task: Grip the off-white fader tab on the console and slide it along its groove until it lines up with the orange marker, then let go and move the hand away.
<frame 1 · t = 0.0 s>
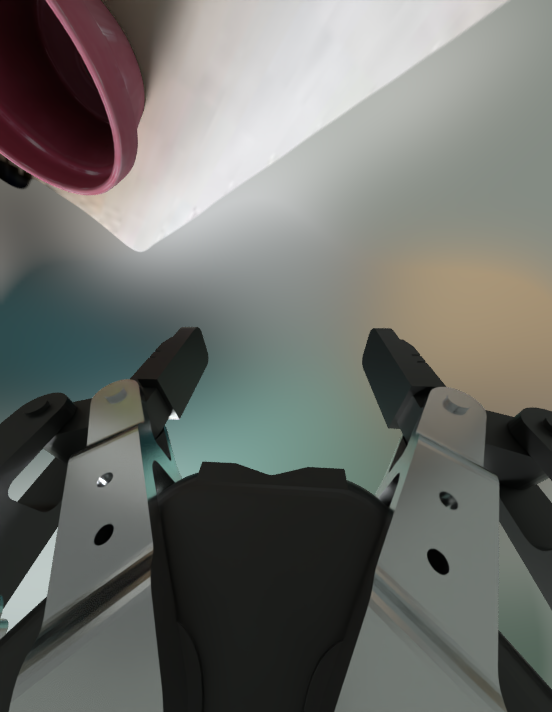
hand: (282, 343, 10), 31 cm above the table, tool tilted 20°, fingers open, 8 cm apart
plant pot: (97, 63, 22), on the table
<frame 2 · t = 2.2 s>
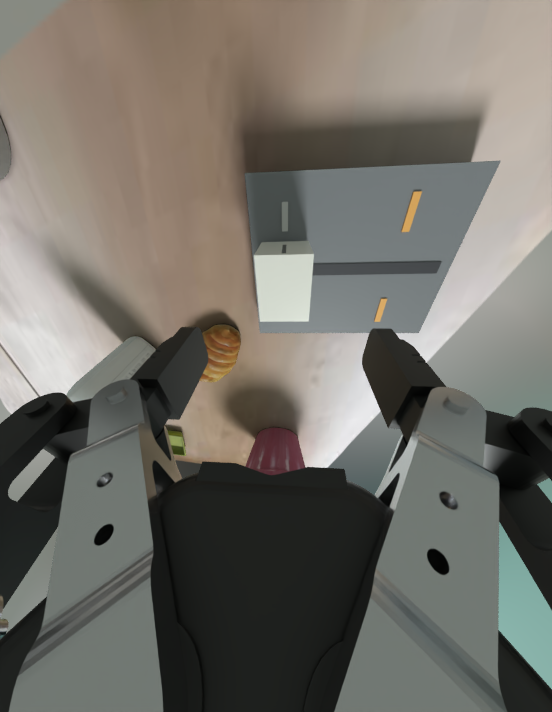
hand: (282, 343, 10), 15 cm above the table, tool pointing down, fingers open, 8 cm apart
plant pot: (276, 437, 44), on the table
pastry: (215, 347, 30), on the table
photo printer: (158, 359, 32), on the table
saucer: (169, 435, 47), on the table
console: (342, 261, 21), on the table
fader tab: (284, 280, 17), point 6 cm above the table, slide at 0.0 cm
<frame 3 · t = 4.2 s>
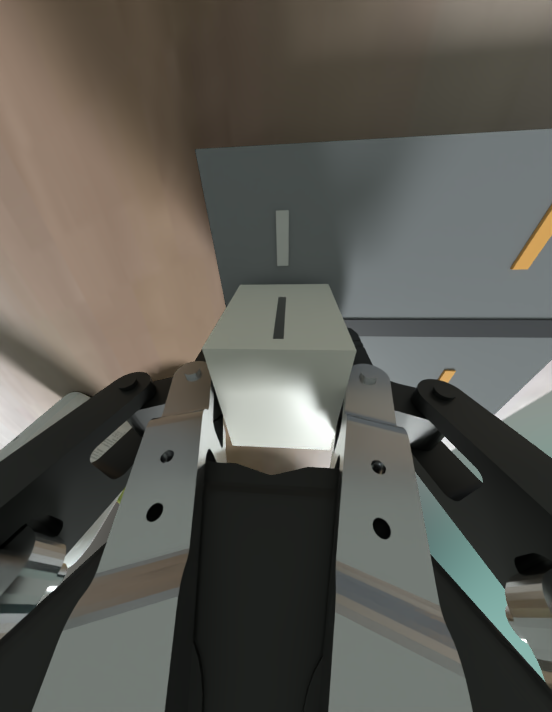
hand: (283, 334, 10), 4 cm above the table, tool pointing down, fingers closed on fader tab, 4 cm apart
photo printer: (114, 416, 24), on the table
console: (377, 304, 13), on the table
fader tab: (282, 362, 9), point 6 cm above the table, slide at 0.0 cm, touching gripper
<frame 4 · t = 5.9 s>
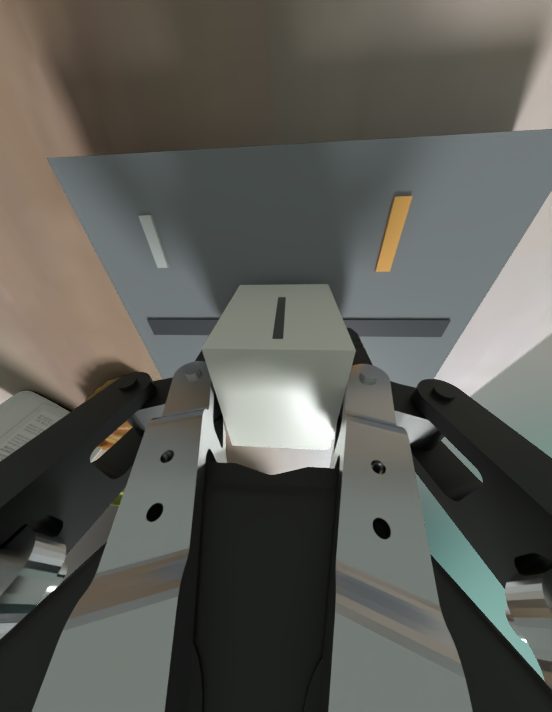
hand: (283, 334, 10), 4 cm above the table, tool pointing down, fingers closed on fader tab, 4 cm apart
pastry: (130, 401, 22), on the table
photo printer: (70, 415, 24), on the table
console: (291, 304, 13), on the table
fader tab: (281, 362, 9), point 6 cm above the table, slide at 5.6 cm, touching gripper
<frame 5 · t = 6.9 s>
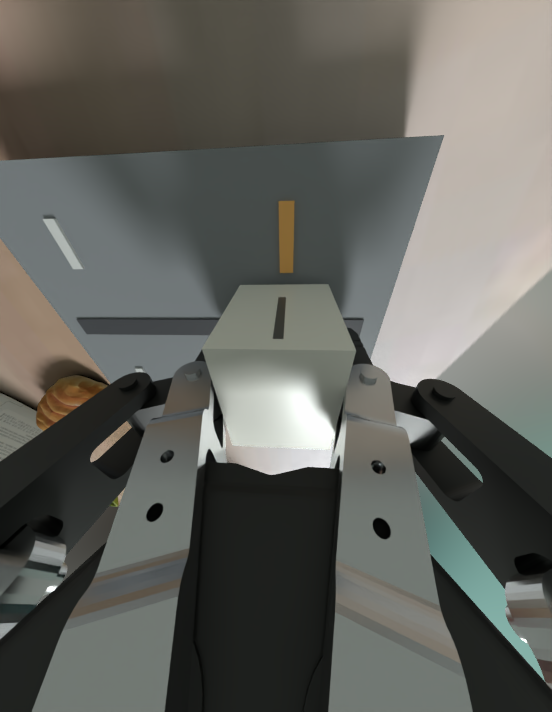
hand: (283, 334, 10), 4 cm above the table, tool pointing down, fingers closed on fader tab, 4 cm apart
pastry: (91, 399, 22), on the table
photo printer: (38, 413, 24), on the table
console: (228, 304, 14), on the table
fader tab: (282, 362, 9), point 6 cm above the table, slide at 9.9 cm, touching gripper
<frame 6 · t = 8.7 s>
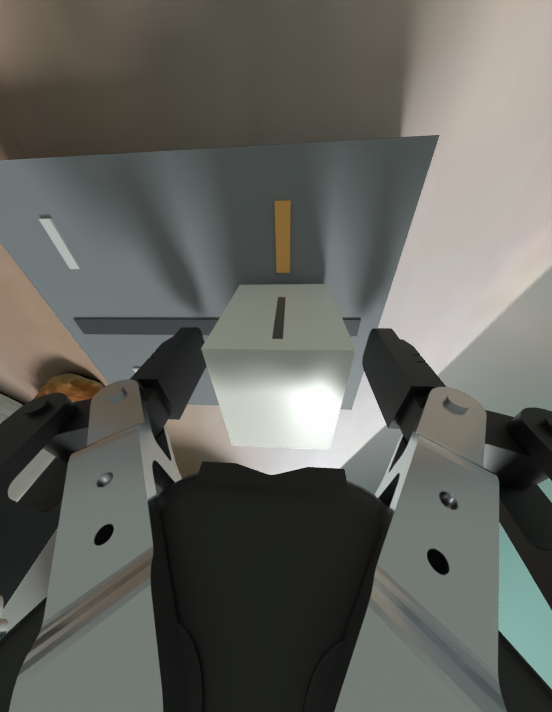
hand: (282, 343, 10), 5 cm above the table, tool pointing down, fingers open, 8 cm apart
pastry: (86, 398, 22), on the table
photo printer: (36, 413, 24), on the table
console: (226, 304, 14), on the table
fader tab: (281, 362, 9), point 6 cm above the table, slide at 10.0 cm
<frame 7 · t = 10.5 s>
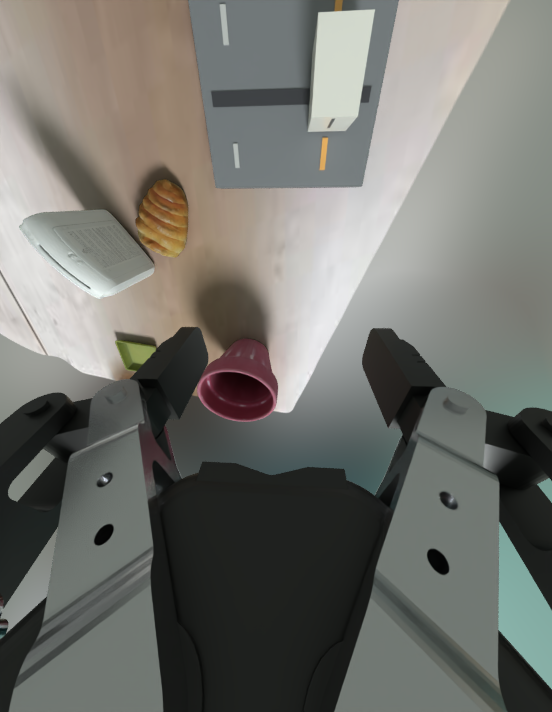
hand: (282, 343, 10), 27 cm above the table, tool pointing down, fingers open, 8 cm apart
plant pot: (248, 354, 46), on the table
pastry: (167, 222, 31), on the table
photo printer: (127, 245, 33), on the table
saucer: (145, 353, 48), on the table
console: (289, 107, 23), on the table
fader tab: (334, 82, 18), point 6 cm above the table, slide at 10.0 cm
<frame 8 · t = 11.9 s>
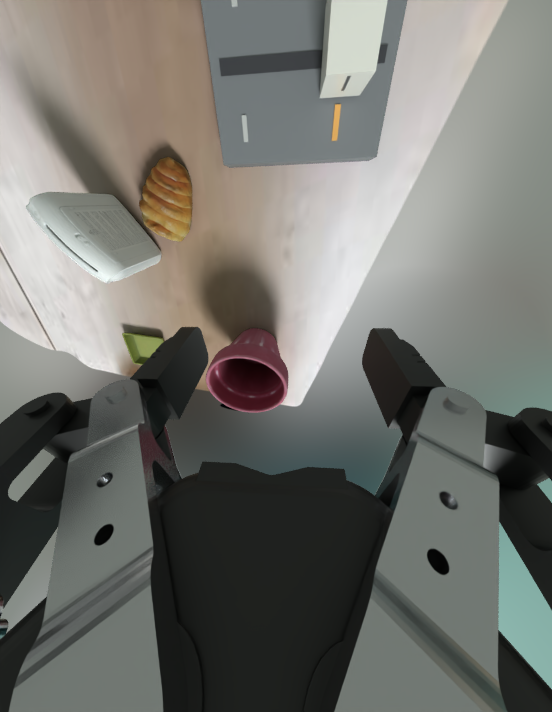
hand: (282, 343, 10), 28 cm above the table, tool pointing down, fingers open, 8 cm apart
plant pot: (256, 345, 45), on the table
pastry: (171, 205, 30), on the table
photo printer: (134, 232, 33), on the table
saucer: (152, 346, 47), on the table
console: (299, 76, 22), on the table
fader tab: (349, 38, 17), point 6 cm above the table, slide at 10.0 cm
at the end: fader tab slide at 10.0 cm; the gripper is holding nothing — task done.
